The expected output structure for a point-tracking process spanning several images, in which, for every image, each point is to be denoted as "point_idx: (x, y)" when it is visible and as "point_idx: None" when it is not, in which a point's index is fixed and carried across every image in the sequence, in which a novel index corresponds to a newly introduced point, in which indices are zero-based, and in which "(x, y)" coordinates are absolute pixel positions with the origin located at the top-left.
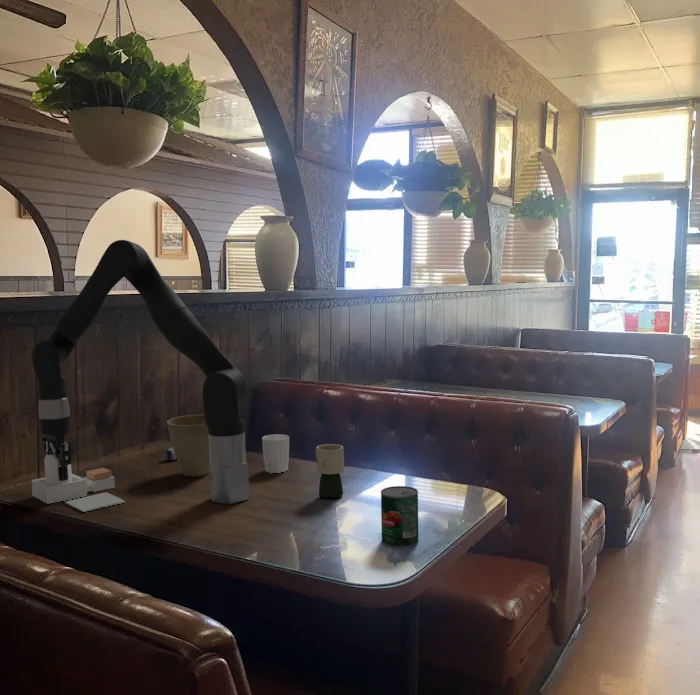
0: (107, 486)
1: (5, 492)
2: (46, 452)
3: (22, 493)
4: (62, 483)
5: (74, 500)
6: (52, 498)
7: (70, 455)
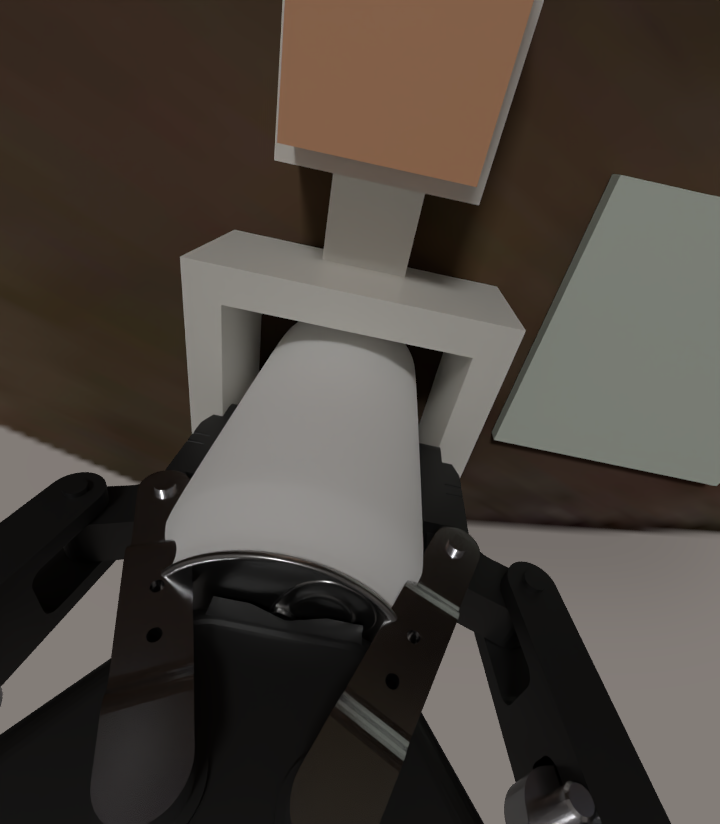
0: None
1: (61, 451)
2: None
3: (132, 427)
4: None
5: (530, 409)
6: None
7: (596, 681)
